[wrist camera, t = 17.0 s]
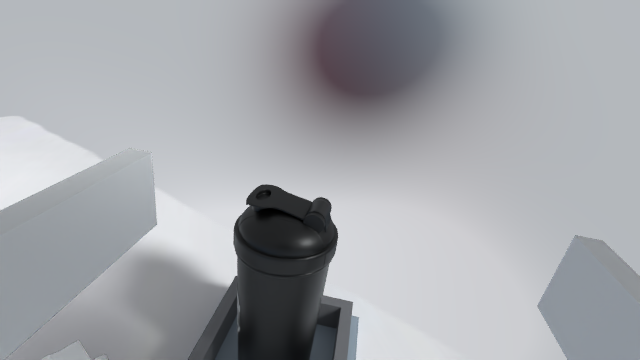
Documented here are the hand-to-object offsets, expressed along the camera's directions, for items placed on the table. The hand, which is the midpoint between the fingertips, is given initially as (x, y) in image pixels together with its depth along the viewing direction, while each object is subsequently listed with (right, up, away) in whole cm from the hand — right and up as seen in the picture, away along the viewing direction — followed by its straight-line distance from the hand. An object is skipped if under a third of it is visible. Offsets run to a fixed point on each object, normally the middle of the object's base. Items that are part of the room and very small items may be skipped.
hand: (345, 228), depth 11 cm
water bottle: (-7, -21, +32) cm, 39 cm away
